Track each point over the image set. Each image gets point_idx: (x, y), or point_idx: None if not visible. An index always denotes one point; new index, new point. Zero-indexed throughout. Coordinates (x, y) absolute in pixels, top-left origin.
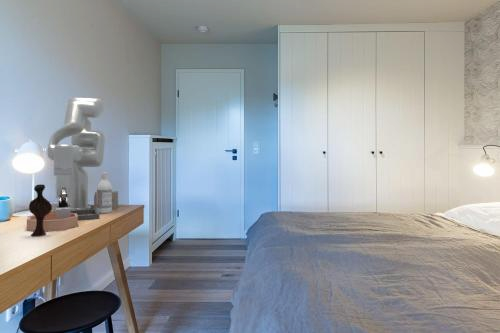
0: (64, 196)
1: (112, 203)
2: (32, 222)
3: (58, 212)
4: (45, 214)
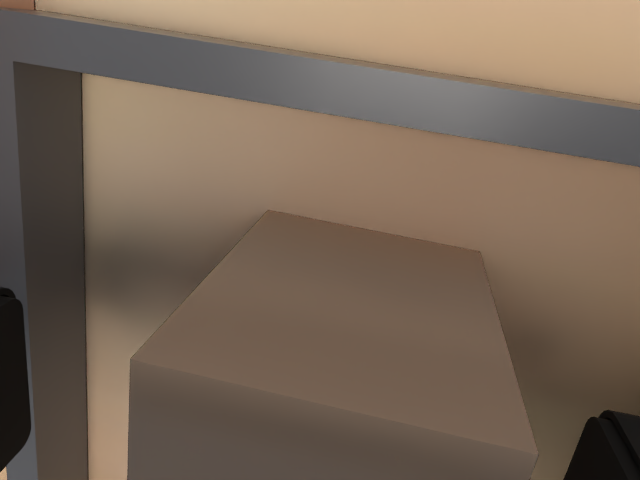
0: None
1: None
2: None
3: None
4: None
